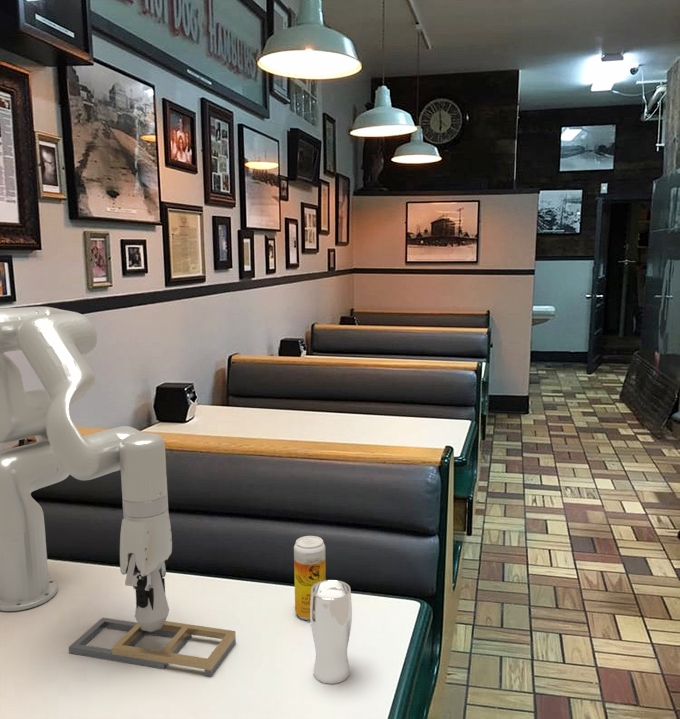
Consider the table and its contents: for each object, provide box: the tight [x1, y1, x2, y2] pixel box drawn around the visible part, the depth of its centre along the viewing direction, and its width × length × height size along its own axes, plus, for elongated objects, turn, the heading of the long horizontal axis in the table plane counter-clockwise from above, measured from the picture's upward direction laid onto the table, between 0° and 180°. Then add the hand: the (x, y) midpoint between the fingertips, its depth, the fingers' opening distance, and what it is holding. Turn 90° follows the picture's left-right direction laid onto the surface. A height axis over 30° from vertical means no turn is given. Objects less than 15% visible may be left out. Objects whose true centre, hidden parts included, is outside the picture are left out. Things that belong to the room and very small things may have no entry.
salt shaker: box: [134, 561, 170, 632], centre depth 114 cm, size 6×6×13 cm
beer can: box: [293, 535, 327, 621], centre depth 126 cm, size 6×6×15 cm
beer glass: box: [309, 579, 353, 685], centre depth 107 cm, size 7×7×15 cm
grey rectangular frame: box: [68, 617, 193, 670], centre depth 117 cm, size 19×10×1 cm, turn 75°
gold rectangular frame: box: [111, 620, 237, 678], centre depth 114 cm, size 19×10×2 cm, turn 75°
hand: (151, 603), depth 114 cm, fingers closed on salt shaker, 3 cm apart
